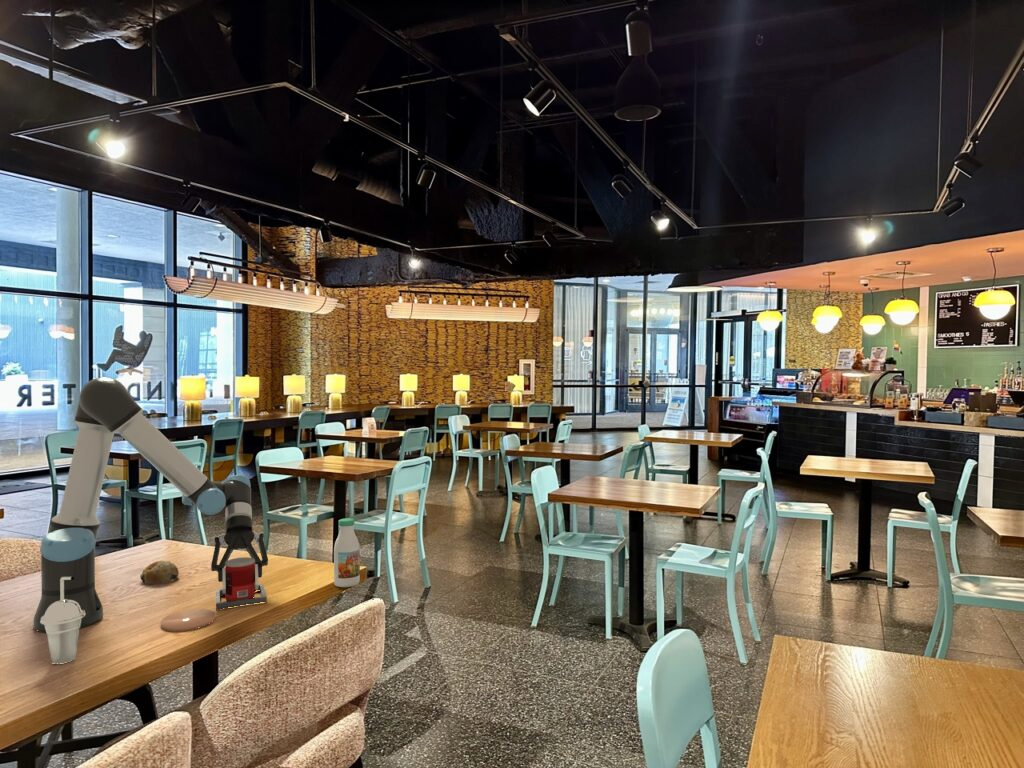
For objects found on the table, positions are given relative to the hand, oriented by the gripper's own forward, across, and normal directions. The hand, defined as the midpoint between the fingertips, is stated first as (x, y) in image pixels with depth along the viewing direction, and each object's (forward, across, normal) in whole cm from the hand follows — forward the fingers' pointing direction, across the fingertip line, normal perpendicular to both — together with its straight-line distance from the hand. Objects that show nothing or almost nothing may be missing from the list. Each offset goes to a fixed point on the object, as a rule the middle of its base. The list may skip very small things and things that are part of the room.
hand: (240, 589), depth 187 cm
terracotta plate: (+10, +13, +4) cm, 17 cm away
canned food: (+1, 0, -5) cm, 5 cm away
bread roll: (-20, +23, -27) cm, 41 cm away
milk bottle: (-1, -31, -6) cm, 31 cm away
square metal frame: (+1, 0, -5) cm, 5 cm away
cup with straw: (+20, +38, +14) cm, 45 cm away
